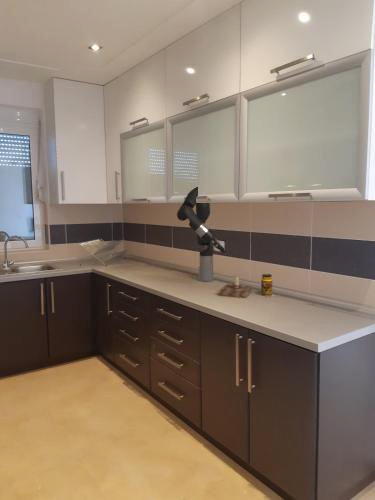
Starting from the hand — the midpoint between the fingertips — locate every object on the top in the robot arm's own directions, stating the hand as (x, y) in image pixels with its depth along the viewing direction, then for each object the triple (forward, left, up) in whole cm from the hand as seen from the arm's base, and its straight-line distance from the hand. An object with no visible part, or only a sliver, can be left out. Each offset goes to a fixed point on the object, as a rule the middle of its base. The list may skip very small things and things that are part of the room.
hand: (223, 251), depth 233 cm
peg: (+9, -8, -24) cm, 27 cm away
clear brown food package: (+10, -8, -24) cm, 27 cm away
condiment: (+26, -4, -24) cm, 36 cm away
